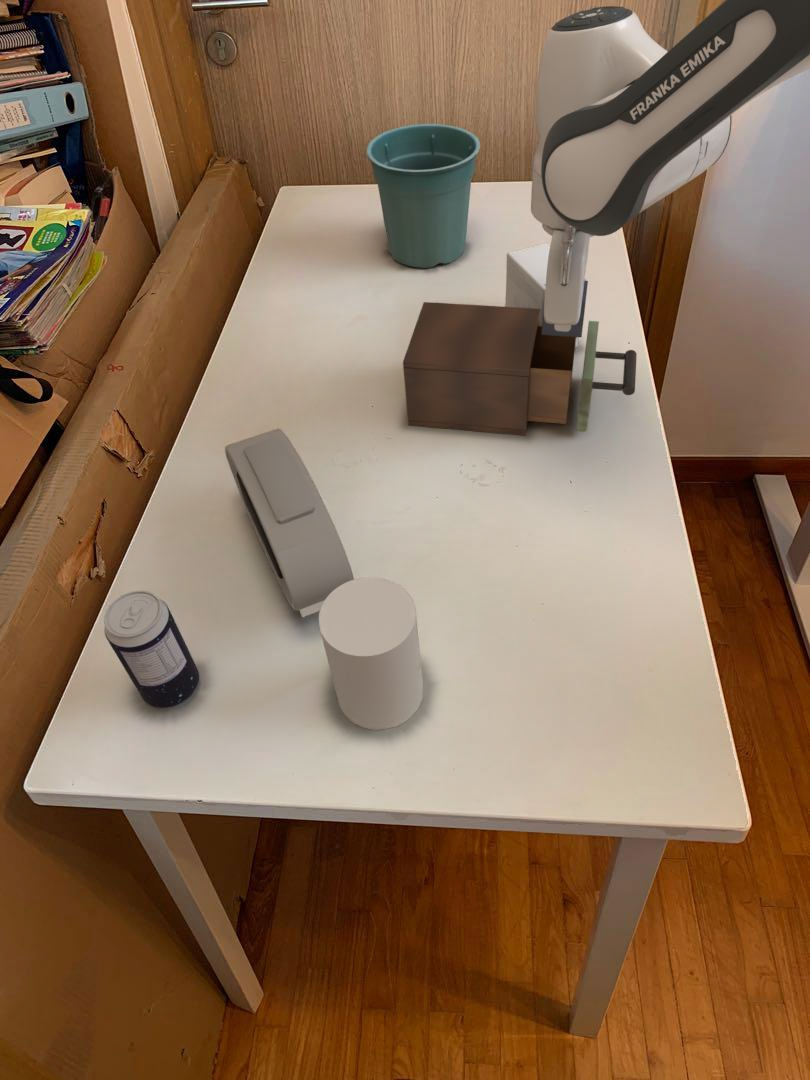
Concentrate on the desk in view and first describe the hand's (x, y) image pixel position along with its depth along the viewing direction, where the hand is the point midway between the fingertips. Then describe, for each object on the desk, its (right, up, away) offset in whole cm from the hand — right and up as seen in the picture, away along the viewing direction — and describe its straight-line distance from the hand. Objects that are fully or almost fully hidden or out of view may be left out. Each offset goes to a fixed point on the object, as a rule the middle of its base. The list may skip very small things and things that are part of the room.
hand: (564, 312), depth 93 cm
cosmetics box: (+1, +3, +20) cm, 20 cm away
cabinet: (-9, -8, +12) cm, 17 cm away
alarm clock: (-30, -28, -4) cm, 41 cm away
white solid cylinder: (-20, -40, -16) cm, 48 cm away
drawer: (0, -8, +9) cm, 12 cm away
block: (0, -1, +1) cm, 2 cm away
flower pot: (-14, +20, +38) cm, 45 cm away
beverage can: (-41, -40, -14) cm, 59 cm away
